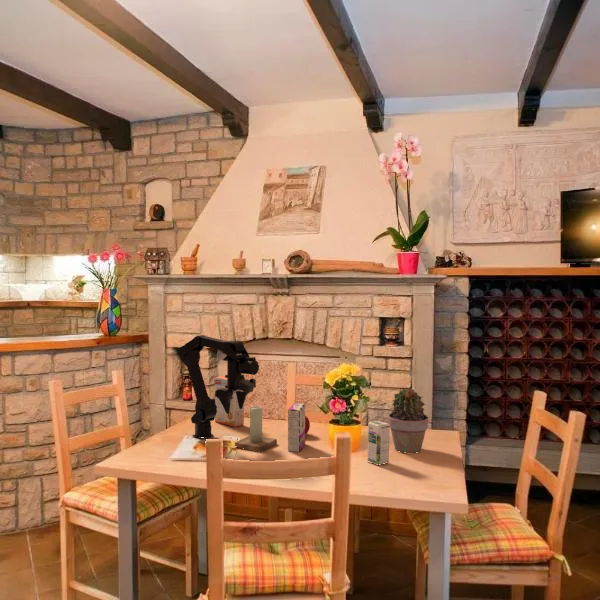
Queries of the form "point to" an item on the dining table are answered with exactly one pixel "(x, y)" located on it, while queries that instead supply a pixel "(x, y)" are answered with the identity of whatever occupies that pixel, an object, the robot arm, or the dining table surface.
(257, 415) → the green blank
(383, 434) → the syrup box
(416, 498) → the dining table surface
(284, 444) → the dining table surface
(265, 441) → the brown flat square slab
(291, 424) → the candy bar box
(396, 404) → the potted plant
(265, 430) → the dining table surface
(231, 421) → the cracker box
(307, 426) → the apple
